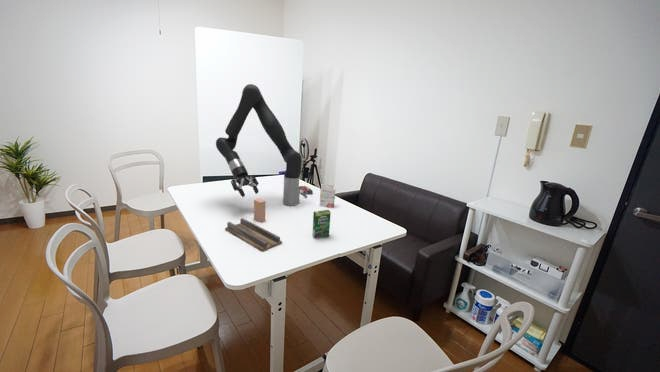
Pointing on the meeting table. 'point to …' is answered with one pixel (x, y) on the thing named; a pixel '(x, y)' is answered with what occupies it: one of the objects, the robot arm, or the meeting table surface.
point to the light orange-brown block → (259, 210)
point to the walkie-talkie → (305, 190)
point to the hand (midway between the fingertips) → (250, 194)
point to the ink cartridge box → (327, 195)
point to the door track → (253, 235)
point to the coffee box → (321, 223)
